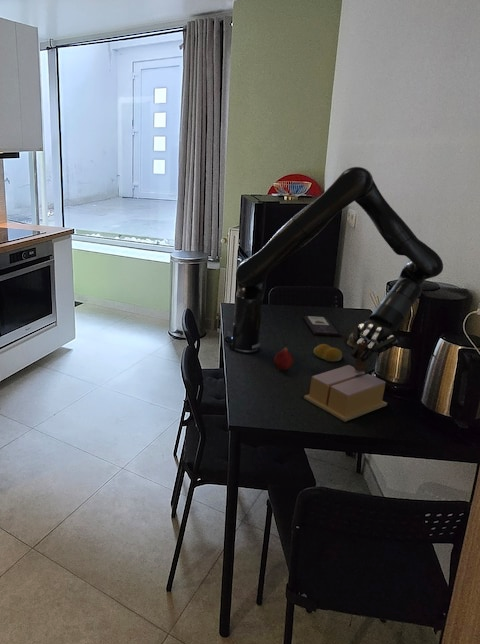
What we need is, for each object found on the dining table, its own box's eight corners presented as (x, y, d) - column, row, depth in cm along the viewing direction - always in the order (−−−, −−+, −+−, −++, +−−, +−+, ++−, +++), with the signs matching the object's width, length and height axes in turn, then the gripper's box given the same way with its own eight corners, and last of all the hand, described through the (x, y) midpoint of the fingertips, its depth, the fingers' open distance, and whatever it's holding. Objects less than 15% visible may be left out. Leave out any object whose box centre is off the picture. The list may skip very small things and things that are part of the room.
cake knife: (354, 397, 140) (363, 345, 135) (349, 395, 141) (357, 343, 136) (361, 395, 141) (370, 343, 136) (356, 392, 143) (364, 341, 138)
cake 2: (362, 353, 172) (364, 340, 170) (340, 343, 181) (341, 330, 179) (383, 347, 176) (384, 333, 174) (360, 337, 184) (361, 324, 183)
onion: (282, 376, 154) (285, 353, 152) (269, 368, 159) (271, 346, 157) (295, 372, 157) (298, 349, 154) (282, 365, 162) (285, 343, 159)
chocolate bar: (315, 332, 186) (304, 316, 203) (314, 334, 187) (304, 318, 204) (339, 333, 185) (326, 317, 202) (339, 336, 186) (326, 319, 203)
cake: (344, 421, 129) (349, 397, 127) (303, 398, 141) (306, 375, 139) (387, 405, 138) (391, 382, 135) (344, 384, 149) (348, 362, 147)
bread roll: (335, 364, 162) (336, 353, 161) (310, 355, 169) (311, 345, 168) (346, 357, 167) (348, 347, 166) (321, 349, 174) (323, 339, 173)
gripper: (365, 296, 142) (331, 342, 140) (411, 311, 131) (374, 361, 129) (374, 311, 146) (341, 355, 144) (419, 326, 135) (384, 375, 133)
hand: (357, 358), depth 137 cm, fingers closed on cake knife, 2 cm apart
